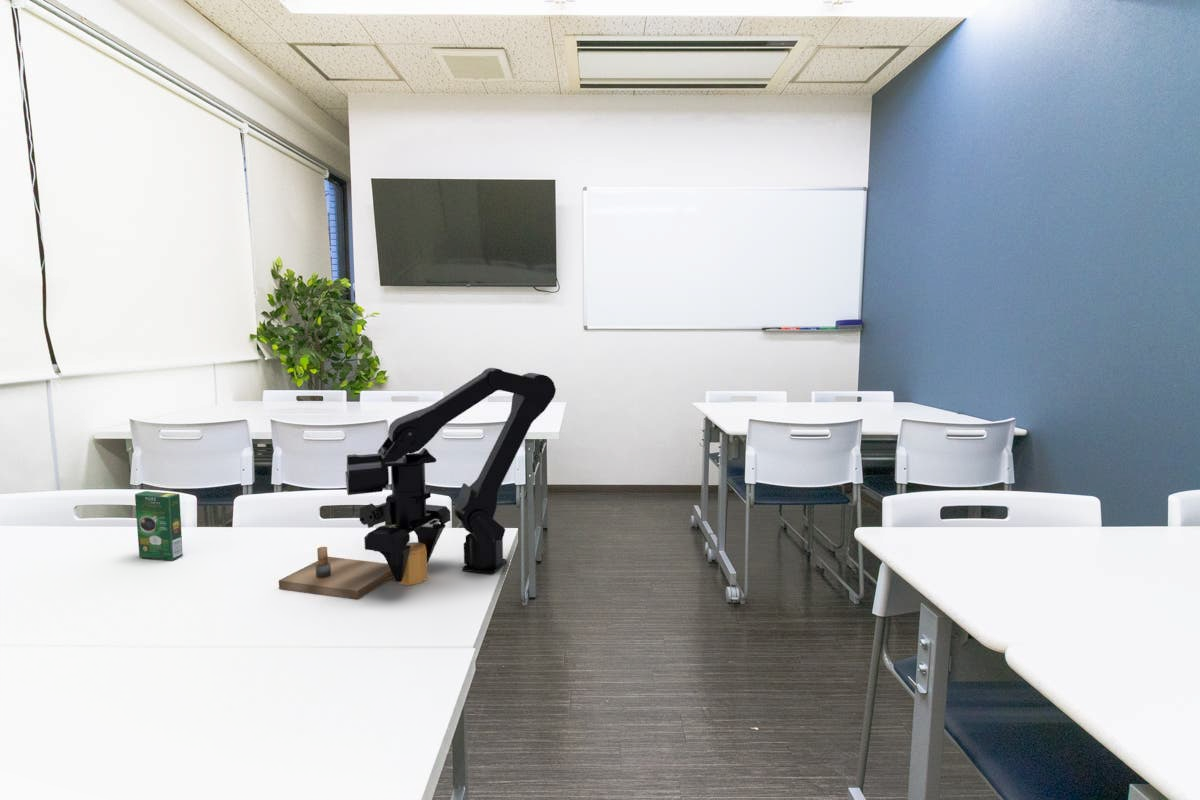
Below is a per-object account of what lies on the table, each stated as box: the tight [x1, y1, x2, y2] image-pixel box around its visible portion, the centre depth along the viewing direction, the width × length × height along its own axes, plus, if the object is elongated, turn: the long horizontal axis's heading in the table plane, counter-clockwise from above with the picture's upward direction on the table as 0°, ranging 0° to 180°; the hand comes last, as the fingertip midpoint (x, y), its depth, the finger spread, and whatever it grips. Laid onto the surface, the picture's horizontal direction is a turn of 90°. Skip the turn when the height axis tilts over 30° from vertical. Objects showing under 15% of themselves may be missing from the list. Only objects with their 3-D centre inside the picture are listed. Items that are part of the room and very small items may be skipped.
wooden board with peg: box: [278, 546, 394, 600], centre depth 111 cm, size 16×12×6 cm
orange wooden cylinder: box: [397, 541, 428, 586], centre depth 112 cm, size 5×5×6 cm
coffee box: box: [134, 490, 184, 561], centre depth 122 cm, size 8×3×13 cm, turn 79°
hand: (412, 572), depth 112 cm, fingers open, 8 cm apart
